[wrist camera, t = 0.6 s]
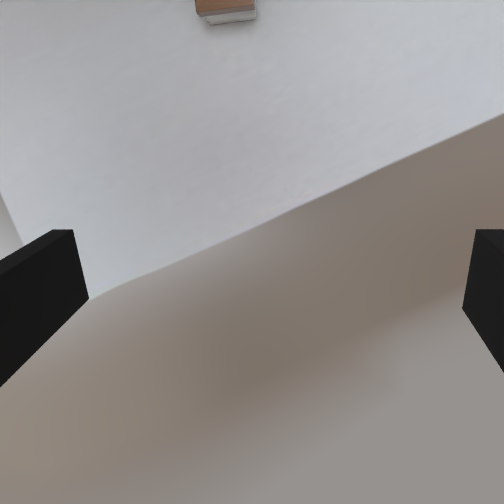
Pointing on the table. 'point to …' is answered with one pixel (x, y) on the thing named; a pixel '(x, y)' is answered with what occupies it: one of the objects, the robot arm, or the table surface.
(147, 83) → the table surface
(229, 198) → the table surface
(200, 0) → the brush
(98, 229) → the table surface
